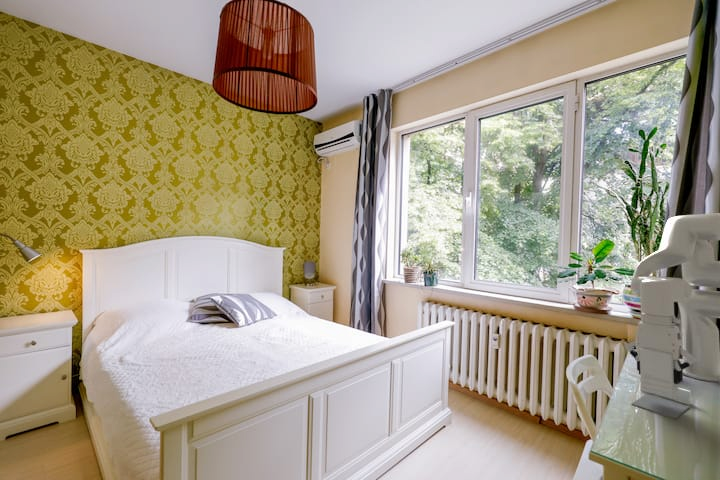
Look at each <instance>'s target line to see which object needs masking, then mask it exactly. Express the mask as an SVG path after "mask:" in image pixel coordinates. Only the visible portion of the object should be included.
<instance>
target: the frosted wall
mask: <svg viewBox="0 0 720 480" xmlns="http://www.w3.org/2000/svg"><path fill="white" fill-rule="evenodd" d="M639 382H640V388H639V389H640V391H642V392H645V393H647V394H650V395H654V396H657V397H661V398H664V399H667V400H671V401H674V402H677V403H681V404H684V405H687V406H690V405H691V404H692V393H691V392H692V391H691V390H689V389H686V388H682V387H679V386H678V389H679V391H678V393H677V394H676V395H675V396H674V397H673V398H671V397H667V396H664V395H660V394H656V393H653V392H649V391H645V390H641V377H640V379H639Z"/></svg>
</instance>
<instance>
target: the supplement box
mask: <svg viewBox="0 0 720 480" xmlns="http://www.w3.org/2000/svg"><path fill="white" fill-rule="evenodd" d="M639 353H640V374H639V375H640V378H641V388H640V391H641V390H645V391H649V392H653V393H656V394H660V395H664V396H667V397H671V398H673V397H674V396H675V395H676V394H677V393H678V391H679V389H678V387H679V383H678V384H675V383H674V372H673V371H674V370H675V367H674V366H673V360H672V354H670V353H665V352H661V351H655V350H650V349H645V348H640V349H639ZM639 353H638V354H639ZM645 391H644V392H645Z"/></svg>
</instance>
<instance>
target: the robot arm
mask: <svg viewBox="0 0 720 480" xmlns="http://www.w3.org/2000/svg"><path fill="white" fill-rule="evenodd" d="M660 239H661V240H660V243H659V246H658V250H656V251H654V252H653V253H651V254H649V255H647V256H646V257H645V258H643V259H642V260H641V261H640V262H639V263H638V264H637V265H636V266H635V269H634V271H633V275H632V278H631V281H630V291H631V293H632V295H633V296H635V297H636V298H640V321H638V324H637V327H636V336H635V340H633V341H631V342H628V343H626V344H625V345H624V347H625V349H626V350H627V351H628V353H630V355H631V356H632V357H633V358H634V359H635V361H636V370H637V372H638V375H640V353H639V349H640V348H645V349H650V350H655V351H661V352H665V353H670V354H672V360H673V366H674V367H675V370H674V371H673V372H674V383H675V384H678V385H679V384H680V383H681V382H683V380H684V376H687V377H690V378H691V379H692V378H694V379H696V380H700V381H708V382H715V383H716V382H720V330H719V328H718V326H717V325H716V324H715V322H713V321H712V319H711V318H715V319H716V318H717V319H720V291H717V290H708V289H707V290H706V289H705V290H704V289H694V288H692V286H694V287H696V286H697V287H703V288H706V287H707V288H719V289H720V260H718V261H716V260H715V254H714V253H715V252H714V246H713V245H712V244H711V243H710V241H720V212H716V213H715V212H714V213H698V214H697V213H696V214H686V215H677V216H673V217H670V218H668V219H667V221H666V223H665V226H664V229H663V232H662V236H661V238H660ZM679 265H681V275H682V276H681V277H682V278H679V277H666V276H652V274H653V273H655V272H657V271H660V270H664V269H667V268H672V267H675V266H679ZM675 303H677V304H678V308H679V312H680V318H677V317H676V315H675ZM677 324H678V325H679V324H681V331H680V328H679V326H678V325H677ZM634 347H635V349H634ZM681 360H682V361H681Z"/></svg>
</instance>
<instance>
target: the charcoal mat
mask: <svg viewBox="0 0 720 480" xmlns="http://www.w3.org/2000/svg"><path fill="white" fill-rule="evenodd" d="M631 405H632V406H634V407H636V408H640V409H643V410H647V411H649V412H652V413H655V414H658V415H662V416H663V417H667V418H671V419H673V420H677V418H679V417H680V416H682V414H684V413H685V412H686V411H687V410H689V409H690V405H687V404H684V403H681V402H677V401H674V400H671V399H667V398H664V397H661V396H657V395H654V394H651V393H646V394H645V395H643V396H641V397H639V398H638V399H637V400H635V401H633V402H631Z"/></svg>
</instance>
